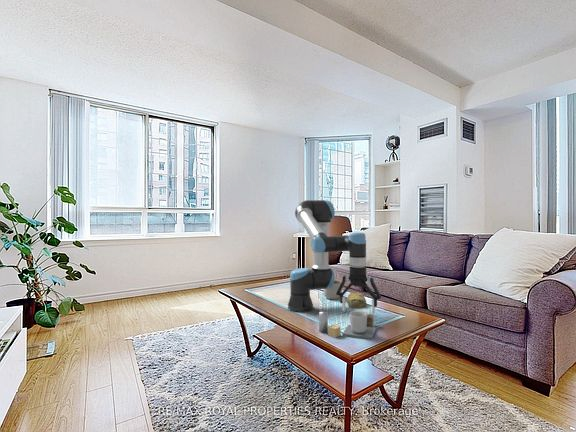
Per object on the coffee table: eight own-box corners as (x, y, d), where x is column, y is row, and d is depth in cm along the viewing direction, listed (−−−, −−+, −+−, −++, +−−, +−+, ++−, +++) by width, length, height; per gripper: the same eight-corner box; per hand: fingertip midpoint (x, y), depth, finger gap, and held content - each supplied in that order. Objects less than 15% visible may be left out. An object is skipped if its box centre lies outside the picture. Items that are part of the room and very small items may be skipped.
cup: (346, 326, 144) (345, 310, 144) (362, 326, 144) (361, 309, 145) (352, 335, 133) (352, 316, 133) (370, 334, 134) (369, 316, 134)
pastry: (356, 301, 193) (355, 289, 193) (371, 305, 183) (371, 292, 183) (340, 305, 184) (340, 292, 185) (356, 310, 174) (356, 296, 175)
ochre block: (328, 335, 136) (328, 326, 136) (333, 333, 139) (333, 324, 139) (335, 338, 133) (335, 328, 133) (340, 335, 136) (340, 326, 136)
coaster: (342, 335, 135) (342, 333, 135) (348, 326, 147) (348, 324, 147) (372, 339, 130) (372, 337, 130) (376, 329, 142) (375, 327, 142)
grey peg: (318, 332, 140) (317, 312, 140) (320, 329, 144) (320, 310, 144) (326, 333, 138) (326, 313, 139) (328, 330, 142) (328, 311, 142)
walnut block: (361, 326, 146) (361, 316, 146) (363, 323, 151) (363, 313, 151) (372, 328, 144) (371, 317, 144) (373, 324, 149) (373, 314, 149)
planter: (329, 295, 211) (328, 279, 212) (345, 297, 204) (345, 281, 204) (320, 299, 201) (320, 282, 202) (337, 301, 194) (336, 284, 194)
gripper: (329, 265, 141) (330, 311, 141) (385, 269, 131) (385, 317, 131) (333, 263, 147) (334, 306, 147) (386, 266, 138) (387, 312, 138)
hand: (358, 312), depth 139 cm, fingers open, 13 cm apart
